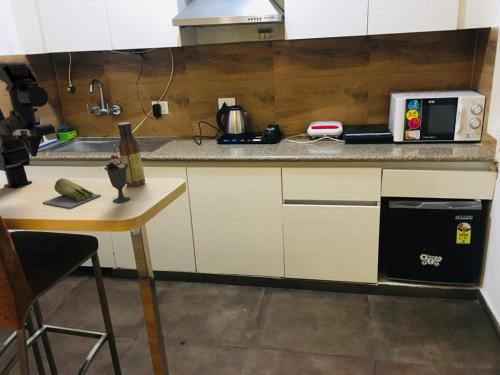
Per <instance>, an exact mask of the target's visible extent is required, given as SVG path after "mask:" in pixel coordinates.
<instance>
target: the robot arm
mask: <svg viewBox="0 0 500 375" xmlns="http://www.w3.org/2000/svg"><path fill="white" fill-rule="evenodd" d="M0 81H2V82H3V83H5V84H6V87H5V91H6V92H7V91H8V95H9V100H10V104H11V108H12V109H11V110H9V116H8V117H5V115H4V113H3V111H2V109H1V107H0V171H2V172H4V173H5V176H6V178H5V179H6V181H7V183H5V184H3V187H6V188H11V189H17V188H19V187H23V186H26V185H29V184H30V185H31V184H32V183H33V180H28V176H27V172H26V169H25V166H30V156H31V157H32V158H35V157H37V156H38V152H39V148H40V144H41V141H42V140H43V137H44V136H48V135H52V134H53V135H54V134H56V133H57V131H56V126H55V125H54V124H52V123H41V121H40V120H39V121H38V120H37V117H36V112H37V113H38V108H42V107H44V106H45V105H47V103H48V101H49V94H48V93H47V91H46V89H44V88H43V87H41V86H40V83H39V81H38V78H37V77H36V75H35V74H34V73H33V71H32V69H31V68H30V66H28V64H27V63H26V62H24V61H14V62H13V61H12V62H4V61H0ZM14 132H15V135H14V134H13V133H14Z"/></svg>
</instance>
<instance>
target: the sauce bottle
mask: <svg viewBox="0 0 500 375" xmlns="http://www.w3.org/2000/svg"><path fill="white" fill-rule="evenodd" d="M132 127H133V126H132V123H131V122H129V121H125V122H119V123H117V129H118V132H119V135H120V136H119V137H120V140H119V142H118V152H119V159H120V160H121V161H123V163H126V164H128V168H127V169H126V186H127V187H139V186H142V185H144V184H145V183H146V178H145V171H144V167H143V160H142V156H141V150H140V147H139V143H138V142H137V141H136V139H135V137H134V134H133V131H132Z"/></svg>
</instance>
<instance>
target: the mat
mask: <svg viewBox="0 0 500 375" xmlns="http://www.w3.org/2000/svg"><path fill="white" fill-rule="evenodd" d="M101 196H102V195H101V194H97V193H94V195H93V196H88V197H85V200H82V199H81V200H79V201H78V200H75V199H74V198H72V197H70V196H68V195H61V194H60V195H58V196H56V197H53V198H51V199H48V200H45V201H43V202H42V204H43V205H48V206H52V207H53V206H54V207H60V208H64V209H70V210H71V209H74V208H76V207H79V206H80V205H83V204H86V203H88V202H90V201H93V200H95V199H98V198H100V197H101ZM83 197H84V196H83Z"/></svg>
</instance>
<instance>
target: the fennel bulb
mask: <svg viewBox="0 0 500 375" xmlns="http://www.w3.org/2000/svg"><path fill="white" fill-rule="evenodd" d="M54 191H55V192H57V193H58V194H59V195H60V196H61V195H68V196H70V197H72V198H74V199H75V200H78V201H79V200H81V199H82V200H85V197H88V196H93V195H94V194H95V193H94V192H92V191H90V190H88V189H86V188H85V187H83V186H81V185H79V184H78V183H75V182H73V181H71V180H69V179H67V178H59V179H57V180H56V182H55V184H54ZM83 196H84V197H83Z"/></svg>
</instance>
